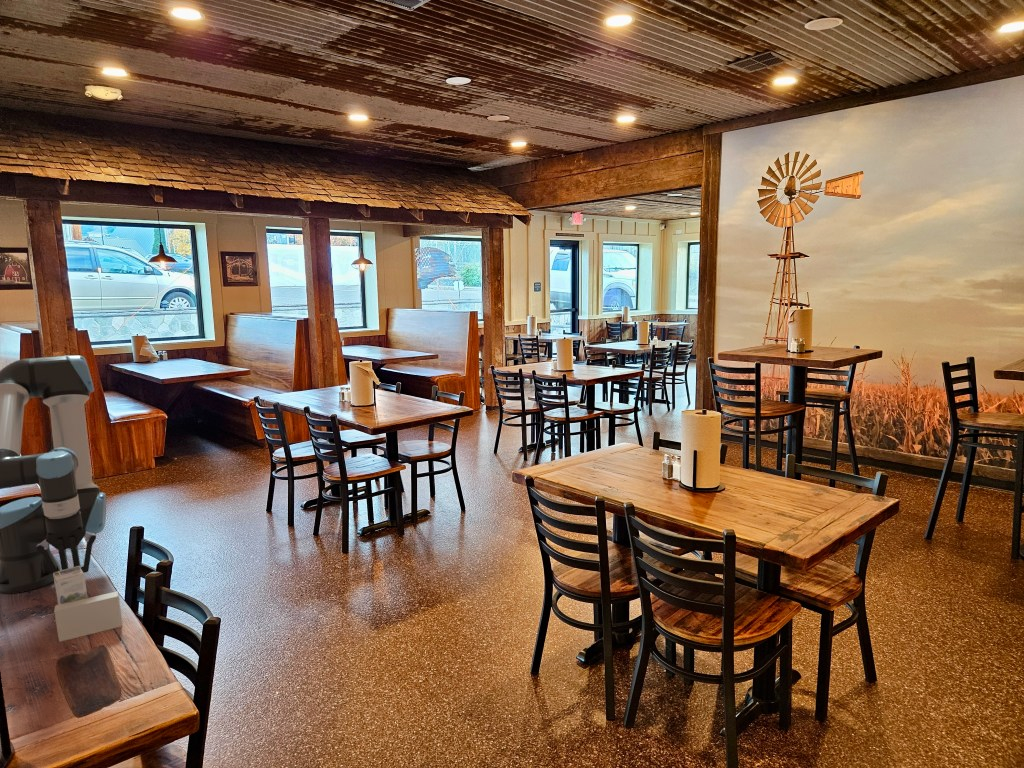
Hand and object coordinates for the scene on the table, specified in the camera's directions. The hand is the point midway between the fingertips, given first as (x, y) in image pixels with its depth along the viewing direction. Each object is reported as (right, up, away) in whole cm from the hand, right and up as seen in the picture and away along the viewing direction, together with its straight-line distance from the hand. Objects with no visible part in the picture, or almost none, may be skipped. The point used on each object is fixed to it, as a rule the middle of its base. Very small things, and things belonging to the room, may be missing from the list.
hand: (76, 599), depth 172 cm
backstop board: (+10, -5, -9) cm, 14 cm away
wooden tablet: (+21, -9, -28) cm, 37 cm away
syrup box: (+5, -5, -7) cm, 9 cm away
